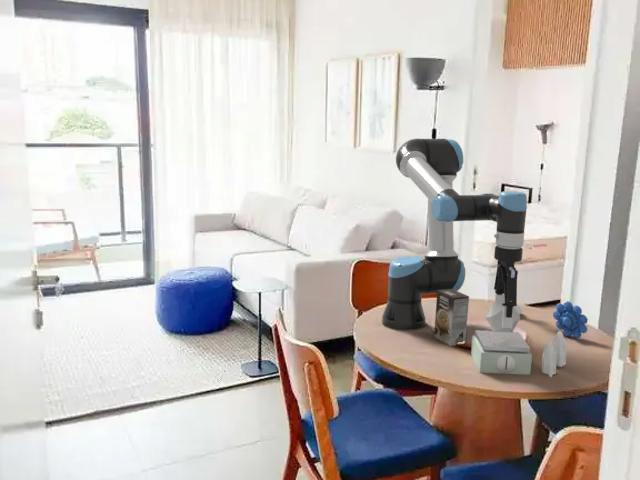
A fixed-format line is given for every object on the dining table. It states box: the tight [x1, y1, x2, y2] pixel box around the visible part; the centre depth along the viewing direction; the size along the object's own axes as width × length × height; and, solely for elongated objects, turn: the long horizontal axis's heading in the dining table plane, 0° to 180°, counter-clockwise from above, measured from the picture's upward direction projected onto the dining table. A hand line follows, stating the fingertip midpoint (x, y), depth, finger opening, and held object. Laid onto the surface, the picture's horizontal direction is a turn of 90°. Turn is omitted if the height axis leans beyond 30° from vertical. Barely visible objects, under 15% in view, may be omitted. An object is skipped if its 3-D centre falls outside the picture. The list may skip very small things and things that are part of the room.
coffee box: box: [433, 289, 470, 347], centre depth 192 cm, size 9×6×16 cm
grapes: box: [552, 300, 589, 339], centre depth 197 cm, size 12×7×12 cm, turn 45°
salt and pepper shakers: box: [541, 330, 567, 378], centre depth 171 cm, size 12×4×11 cm, turn 136°
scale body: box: [470, 334, 533, 376], centre depth 174 cm, size 15×14×7 cm
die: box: [485, 302, 521, 332], centre depth 172 cm, size 8×9×10 cm
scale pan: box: [474, 329, 531, 353], centre depth 173 cm, size 13×13×1 cm
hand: (502, 321), depth 172 cm, fingers closed on die, 10 cm apart
